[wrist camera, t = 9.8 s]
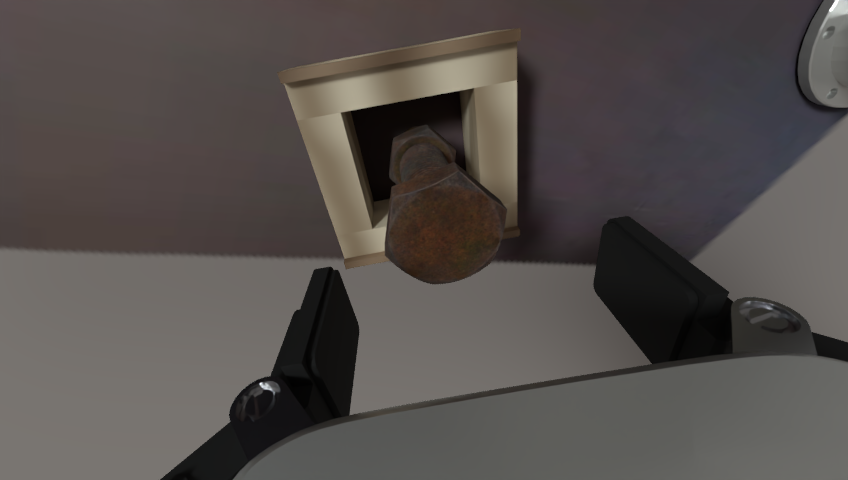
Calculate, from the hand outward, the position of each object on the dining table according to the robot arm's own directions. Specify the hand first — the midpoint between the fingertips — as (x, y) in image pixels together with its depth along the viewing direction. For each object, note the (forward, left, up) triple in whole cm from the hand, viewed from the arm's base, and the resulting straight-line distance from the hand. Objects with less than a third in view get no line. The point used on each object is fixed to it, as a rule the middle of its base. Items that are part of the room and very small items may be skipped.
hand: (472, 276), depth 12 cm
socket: (+1, 0, -18) cm, 18 cm away
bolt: (0, 0, -18) cm, 18 cm away
